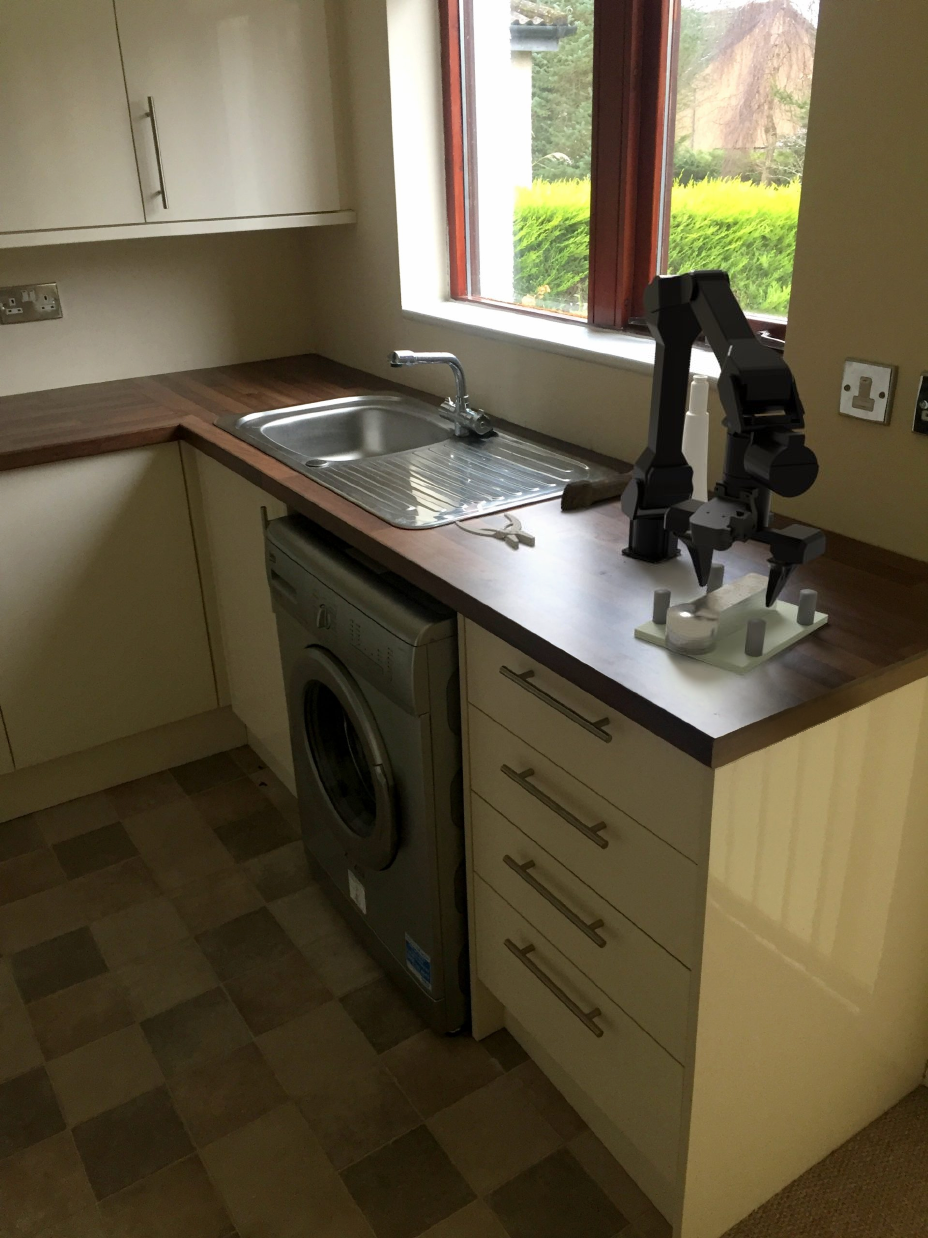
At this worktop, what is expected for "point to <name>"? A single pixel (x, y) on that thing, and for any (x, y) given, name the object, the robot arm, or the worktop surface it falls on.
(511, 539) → the pliers
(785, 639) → the peg board
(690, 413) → the cosmetic bottle
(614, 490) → the hand tool
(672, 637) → the round-ended glossy bar
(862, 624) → the worktop surface
